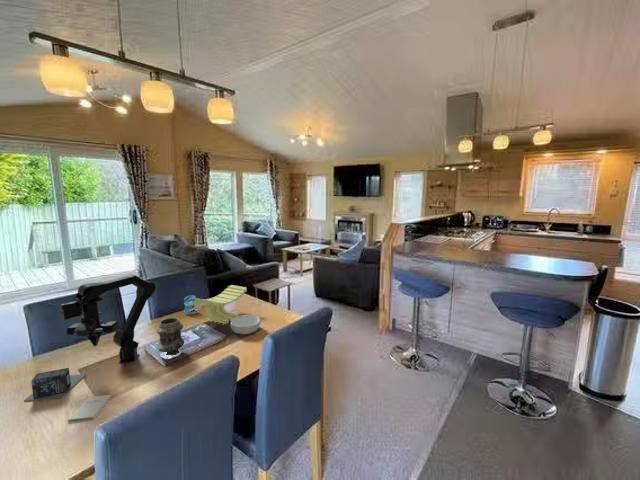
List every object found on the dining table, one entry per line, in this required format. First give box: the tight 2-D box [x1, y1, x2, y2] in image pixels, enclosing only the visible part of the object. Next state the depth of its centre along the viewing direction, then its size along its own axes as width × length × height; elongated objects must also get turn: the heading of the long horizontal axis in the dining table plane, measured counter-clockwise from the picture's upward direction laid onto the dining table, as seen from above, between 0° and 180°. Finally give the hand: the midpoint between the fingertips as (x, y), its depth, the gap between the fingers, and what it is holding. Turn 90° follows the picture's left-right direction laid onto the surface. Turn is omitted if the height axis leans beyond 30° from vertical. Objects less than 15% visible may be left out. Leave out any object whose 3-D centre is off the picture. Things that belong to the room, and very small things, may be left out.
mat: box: [23, 373, 87, 402], centre depth 127 cm, size 13×16×1 cm
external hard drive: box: [67, 394, 112, 423], centre depth 114 cm, size 2×8×12 cm
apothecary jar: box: [155, 317, 185, 355], centre depth 152 cm, size 12×12×18 cm
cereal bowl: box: [230, 314, 261, 336], centre depth 178 cm, size 17×17×7 cm
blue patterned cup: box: [183, 294, 200, 316], centre depth 205 cm, size 8×8×12 cm
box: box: [30, 367, 71, 399], centre depth 123 cm, size 8×6×11 cm
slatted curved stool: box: [193, 284, 248, 325], centre depth 196 cm, size 30×16×18 cm, turn 154°
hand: (95, 345), depth 136 cm, fingers closed
